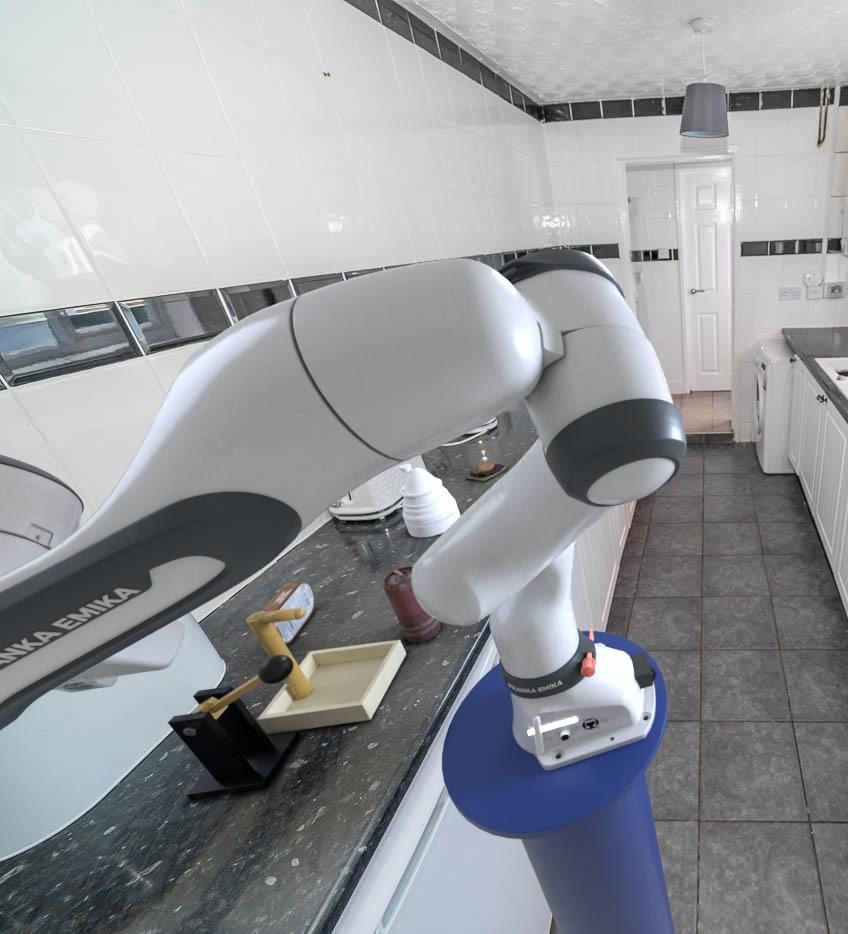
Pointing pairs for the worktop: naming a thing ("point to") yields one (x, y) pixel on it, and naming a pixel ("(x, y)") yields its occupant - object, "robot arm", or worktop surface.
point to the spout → (280, 644)
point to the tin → (288, 598)
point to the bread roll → (486, 471)
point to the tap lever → (251, 684)
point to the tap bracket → (231, 748)
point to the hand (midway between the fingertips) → (99, 680)
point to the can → (409, 607)
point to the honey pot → (426, 503)
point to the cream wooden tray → (336, 687)
